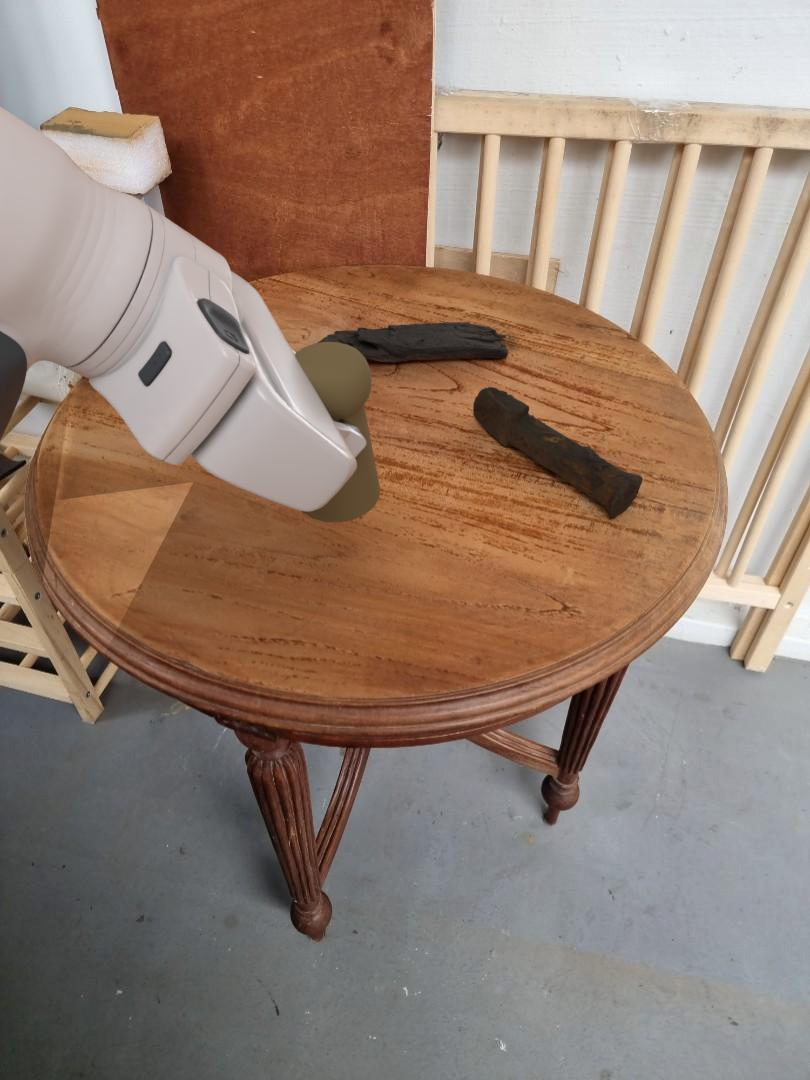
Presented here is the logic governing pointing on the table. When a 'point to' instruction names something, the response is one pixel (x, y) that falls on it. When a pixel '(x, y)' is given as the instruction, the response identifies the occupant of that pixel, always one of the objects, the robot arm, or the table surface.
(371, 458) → the olive pawn
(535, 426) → the hand tool
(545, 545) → the table surface
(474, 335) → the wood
